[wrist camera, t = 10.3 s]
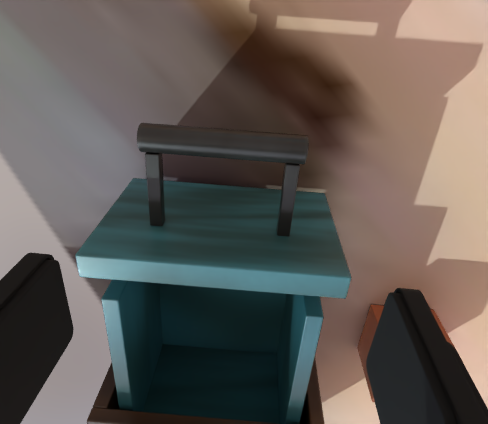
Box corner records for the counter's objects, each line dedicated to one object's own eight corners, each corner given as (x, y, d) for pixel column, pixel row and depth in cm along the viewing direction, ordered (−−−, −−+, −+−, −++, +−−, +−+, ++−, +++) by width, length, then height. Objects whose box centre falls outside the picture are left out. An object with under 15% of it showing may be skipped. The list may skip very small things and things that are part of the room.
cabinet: (140, 295, 28) (85, 421, 19) (308, 309, 28) (327, 442, 19) (151, 413, 35) (115, 542, 26) (285, 425, 35) (291, 558, 26)
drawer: (125, 94, 20) (51, 142, 13) (340, 110, 20) (381, 167, 13) (147, 337, 29) (110, 441, 22) (295, 350, 28) (304, 458, 22)
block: (433, 309, 27) (463, 362, 23) (415, 352, 29) (439, 407, 25) (370, 304, 27) (389, 356, 23) (357, 347, 29) (372, 402, 25)
